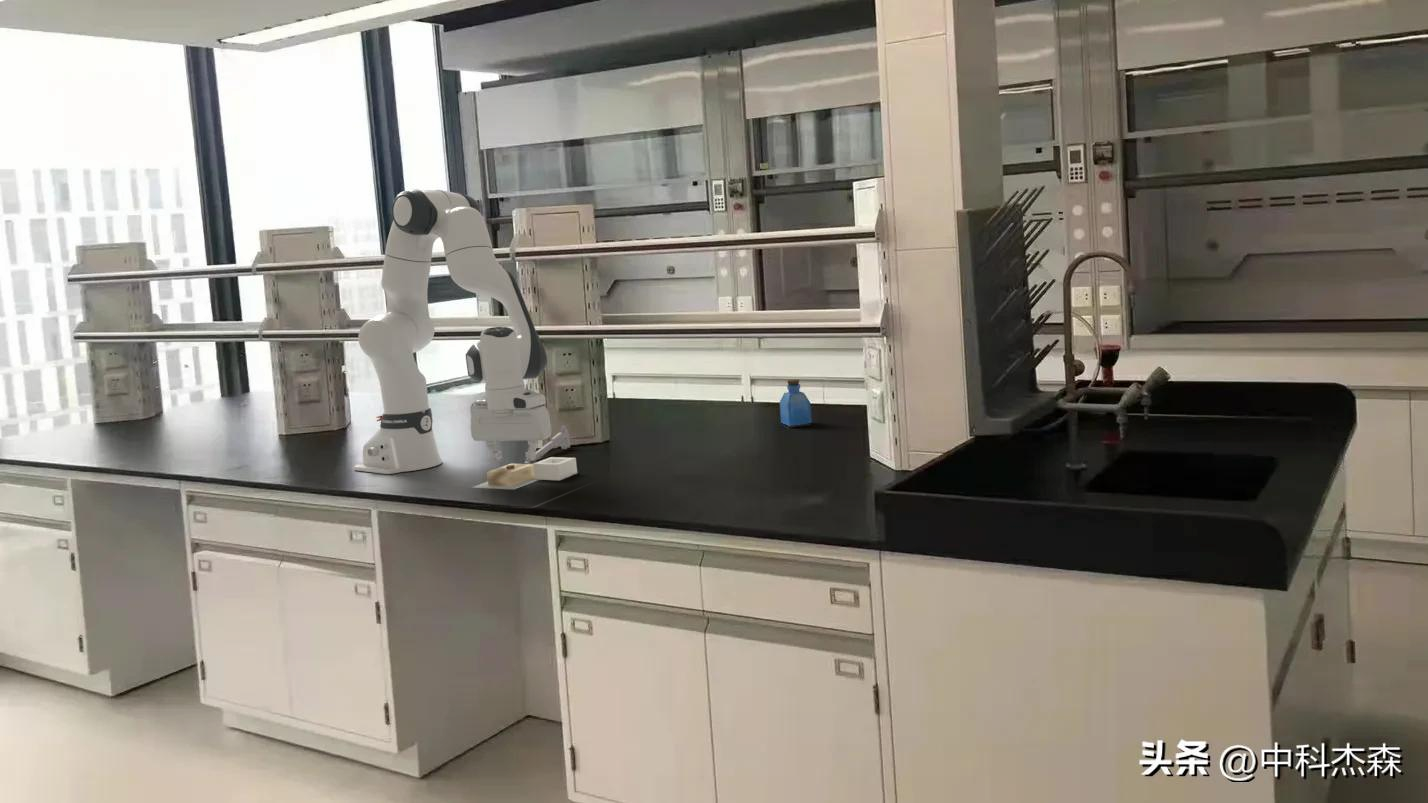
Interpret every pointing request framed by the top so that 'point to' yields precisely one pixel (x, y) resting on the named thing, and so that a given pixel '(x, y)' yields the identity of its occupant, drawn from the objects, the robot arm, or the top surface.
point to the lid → (510, 474)
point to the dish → (555, 468)
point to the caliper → (554, 443)
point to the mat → (485, 485)
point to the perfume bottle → (795, 405)
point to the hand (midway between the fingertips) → (514, 459)
